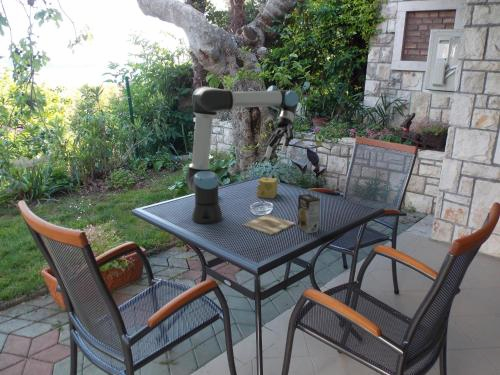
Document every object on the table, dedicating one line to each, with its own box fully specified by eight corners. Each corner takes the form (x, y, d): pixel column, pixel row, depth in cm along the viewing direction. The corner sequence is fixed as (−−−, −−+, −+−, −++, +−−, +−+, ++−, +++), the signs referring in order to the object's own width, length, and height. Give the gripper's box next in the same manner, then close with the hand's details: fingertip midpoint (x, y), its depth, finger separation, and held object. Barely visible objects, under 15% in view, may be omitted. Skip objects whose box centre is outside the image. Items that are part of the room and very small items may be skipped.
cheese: (256, 197, 238) (256, 181, 235) (261, 192, 248) (261, 176, 245) (273, 199, 235) (274, 182, 232) (278, 193, 245) (278, 177, 242)
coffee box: (296, 227, 193) (297, 195, 189) (308, 225, 196) (309, 193, 191) (307, 233, 185) (308, 200, 181) (318, 231, 188) (320, 198, 183)
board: (271, 235, 184) (271, 233, 183) (243, 225, 195) (242, 223, 195) (295, 224, 196) (295, 222, 196) (266, 215, 208) (266, 214, 208)
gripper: (306, 118, 210) (296, 152, 202) (276, 130, 230) (266, 162, 222) (296, 110, 206) (285, 145, 198) (266, 123, 226) (255, 156, 218)
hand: (275, 154), depth 210 cm, fingers open, 13 cm apart
